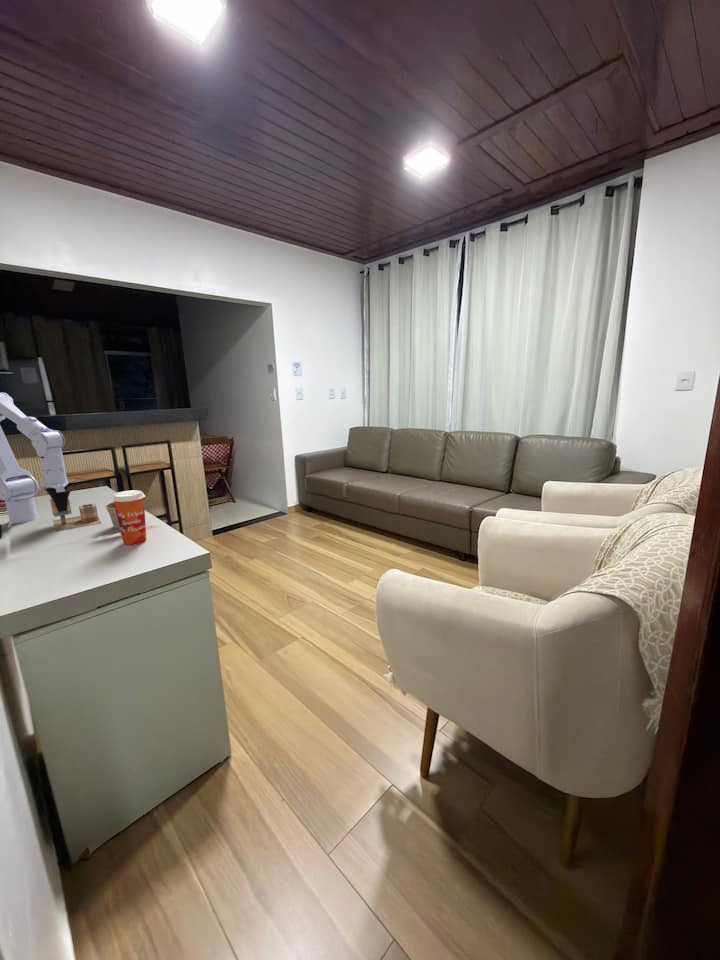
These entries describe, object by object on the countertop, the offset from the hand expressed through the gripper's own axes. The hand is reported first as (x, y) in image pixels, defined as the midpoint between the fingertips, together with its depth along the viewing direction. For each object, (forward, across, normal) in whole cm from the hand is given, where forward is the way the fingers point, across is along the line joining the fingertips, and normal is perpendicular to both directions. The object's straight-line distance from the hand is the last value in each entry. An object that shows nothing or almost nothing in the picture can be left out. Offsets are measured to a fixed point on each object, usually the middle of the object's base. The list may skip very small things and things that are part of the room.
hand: (61, 509), depth 123 cm
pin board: (+6, 0, +4) cm, 7 cm away
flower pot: (+6, +16, +14) cm, 22 cm away
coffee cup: (+6, +30, +13) cm, 33 cm away
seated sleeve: (+5, 0, +7) cm, 9 cm away
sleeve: (+2, 0, 0) cm, 2 cm away
